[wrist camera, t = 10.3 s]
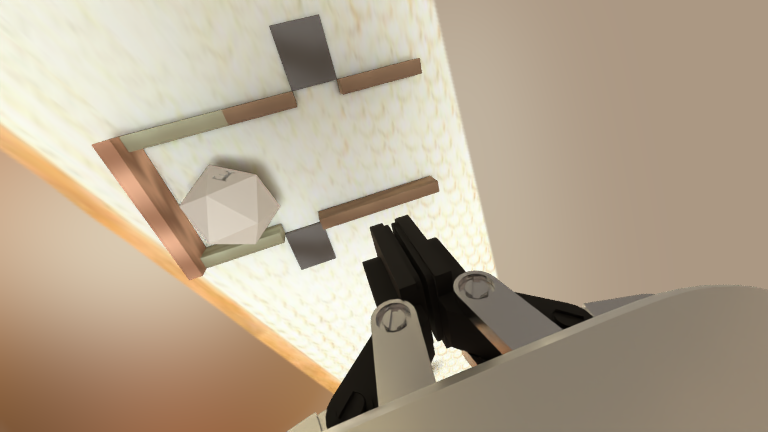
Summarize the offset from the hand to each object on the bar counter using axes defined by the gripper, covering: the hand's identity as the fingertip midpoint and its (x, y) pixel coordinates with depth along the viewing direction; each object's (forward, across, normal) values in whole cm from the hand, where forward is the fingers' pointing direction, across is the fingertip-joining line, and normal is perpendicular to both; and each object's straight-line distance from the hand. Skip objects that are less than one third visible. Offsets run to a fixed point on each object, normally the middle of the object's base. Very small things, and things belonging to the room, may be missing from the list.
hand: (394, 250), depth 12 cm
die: (+26, +13, +3) cm, 29 cm away
